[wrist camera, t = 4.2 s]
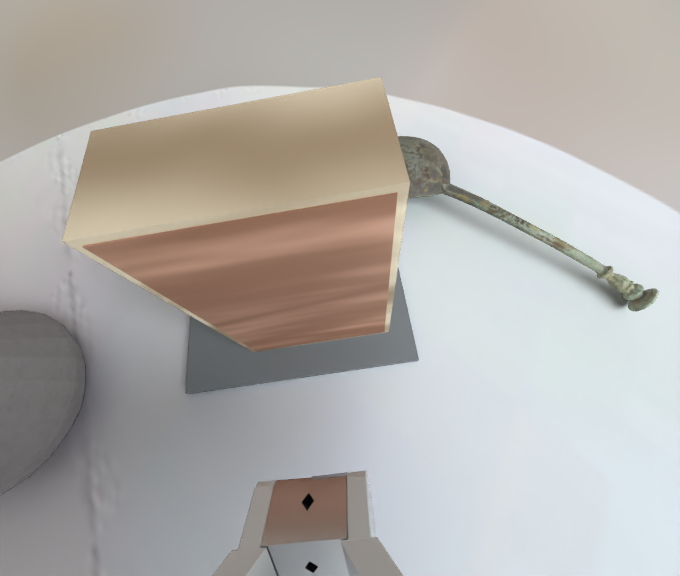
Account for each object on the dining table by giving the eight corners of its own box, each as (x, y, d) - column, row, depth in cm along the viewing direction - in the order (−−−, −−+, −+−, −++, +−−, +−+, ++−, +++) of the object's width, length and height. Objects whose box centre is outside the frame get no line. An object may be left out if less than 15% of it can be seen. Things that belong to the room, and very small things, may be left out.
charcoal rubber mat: (417, 360, 20) (418, 359, 20) (189, 393, 21) (185, 393, 20) (367, 135, 28) (367, 130, 28) (203, 164, 29) (201, 160, 28)
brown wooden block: (388, 332, 21) (410, 184, 8) (253, 352, 21) (61, 243, 8) (378, 276, 22) (381, 76, 9) (252, 296, 23) (91, 131, 10)
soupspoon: (381, 140, 28) (335, 190, 27) (381, 105, 25) (329, 160, 24) (657, 269, 21) (614, 349, 19) (705, 243, 18) (658, 336, 16)
